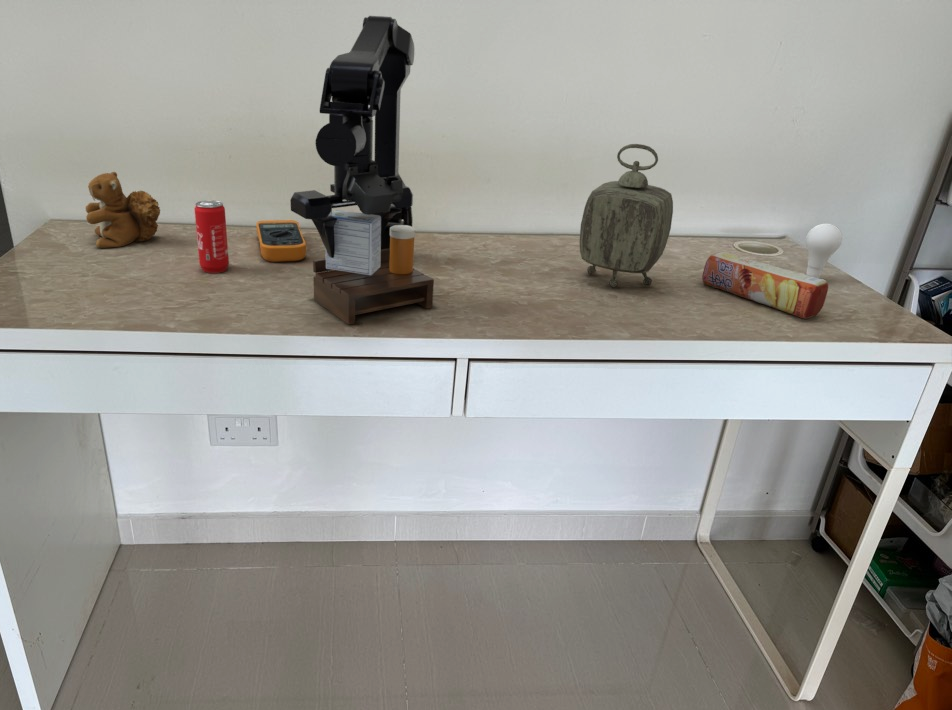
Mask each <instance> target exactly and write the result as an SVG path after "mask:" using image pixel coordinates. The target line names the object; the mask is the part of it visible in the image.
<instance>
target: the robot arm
mask: <svg viewBox="0 0 952 710" xmlns="http://www.w3.org/2000/svg"><path fill="white" fill-rule="evenodd" d="M397 21H398V20H397V19H396V18H393V17H392V16H382V15H381V16H380V15H368V16H367V17H364V18H363V21H362V28H361V30H360V32H359V34H358V36H357V38H356V40H355V42H354V43H353V46H352V48H351V49H350V50H349V52H345V53H341V54H337V56H336V57H335V58H333V60H332V61H331V62H330V64H329V67H327V68H326V70H325V72H324V73H325V74H324V81H323V86H322V93H321V98H320V104H319V114H322V115H323V114H324V115H329V116H328V123H326V124H325V125H323V126H322V127H321V128H320V129H319V130H318V132H317V135H316V137H315V142H314V143H315V144H314V145H315V150H316V152H317V154H318V156H319V158H320V159H321V160H322V161H323V162H325V163H326V164H328V165H329V166H332V167H333V176H334V177H333V179H334V180H333V183H332V184H331V183H330V187H329V188H330V192H331V193H334V194H332V195H331V194H330V195H325V194H323V193H321V192H319V191H317V190H316V189H314V190H313V189H312V190H304V191H303V190H302V191H295V192H294V193H293V194H292V196H291V197H290V211H291V212H293V213H294V214H296V215H298V216H300V217H301V218H303V219H306V220H311V222H312V223H313V225H314V226H315V228H316V231H317V233H318V234H319V237H320V239H321V241H322V243H323V246H324V249H325V252H326V251H327V253H328V255H329V257H331V258H334V253H335V241H334V225H335V223H336V221H337V218H335V217H333V216H332V212H333V209H338V208H345V207H352V206H353V207H354V206H357V207H358V209H359V211H360V213H364V214H366V215H379V216H381V249H388V248H390V227H392V226H395V225H407V226H412V227H413V224H414V223H413V221H414V220H413V209H412V208H413V204H414V194H413V191H412V189H411V188H410V186H407V185H406V183H405V182H404V180H403V179H402V177H401V175H400V174H399V168H400V167H399V165H400V163H399V162H400V127H401V126H400V123H401V93H402V92H401V91H402V88H403V86H404V85H405V83H406V82H407V79H408V78H409V76H410V74H411V66H413V65H414V62H415V42H414V38H413V36H412V34H411V33H410V32H409V31H407V30H406V29H405V28H403V27H402V26H400V25H399V24H398V22H397ZM373 117H374V120H373ZM373 140H374V141H373ZM373 142H374V144H373ZM373 150H374V152H373ZM373 153H374V159H373ZM385 262H387V261H385Z"/></svg>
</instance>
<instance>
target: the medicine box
mask: <svg viewBox="0 0 952 710" xmlns="http://www.w3.org/2000/svg"><path fill="white" fill-rule="evenodd" d="M332 216H333V217H335V218H337V221H336V223H335V225H334V241H335V253H334V258H331V257H329V255H328V253H327V251H326V250H325V258H326V269H331V271H332V270H338V271H345V272H352V273H358V274H365V275H372V274H373V273H374V272H375V271H377V270H378V269H379V268H380V267H381V216H379V215H366V214H364V213H362V212H358V211H357V212H356V211H351V210H350V211H348V210H340V209H336V210H334V211H332Z"/></svg>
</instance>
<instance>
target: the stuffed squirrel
mask: <svg viewBox="0 0 952 710" xmlns="http://www.w3.org/2000/svg"><path fill="white" fill-rule="evenodd" d="M87 187H88V191H89V195H90V196H91V197H92V199H93V202H89V203H88V204H86V205H85V211H86V213H87V214H86V222H87V223H88V224H90V225H97V224H99V225H98V226H97V227H95V228H94V233H95V235H96V236H99V238H98V239H97V240H96V243H95V246H96V247H97V248H99V249H109V248H119V247H124V246H127V245H129V244H132V243H133V242H134V241H136V242H146V241H149V240H150V239H152V238H153V236H155V235H156V233H157V232H158V227H159V225H158V223H157V221H158V219H159V217H160V215H161V207H160V206H159V201H157V200H156V198H154V197H152V195H151V194H150V193H148V192H146V191H145V190H138V191H136V190H134V191H132V192H130V193H129V194H128V196H126V194H125V193H124V192H123V187H122V184H121V182H120V179H119V178H118V173H117V172H116V171H112V172H105V173H101V174H98V175H96V176H95V177H94V178H93V179H91V180H90V181H89V182H88V186H87ZM96 200H97V201H99V202H94V201H96Z"/></svg>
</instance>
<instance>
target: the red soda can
mask: <svg viewBox="0 0 952 710" xmlns="http://www.w3.org/2000/svg"><path fill="white" fill-rule="evenodd" d="M194 217H195V230H196V231H195V232H196V240H197V251H198V261H199V262H198V263H199V266H200V268H201V269H202V270H201V271H202V272H204V273H208V274H220V273H224V272H226V271H227V270H228V267H229V263H230V262H229V260H230V258H229V246H228V234H227V233H228V232H227V221H226V208H225V206H224V203H223V202H222V201H220V200H212V199H210V200H209V199H207V200H200V201H197V202H195V207H194Z"/></svg>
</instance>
